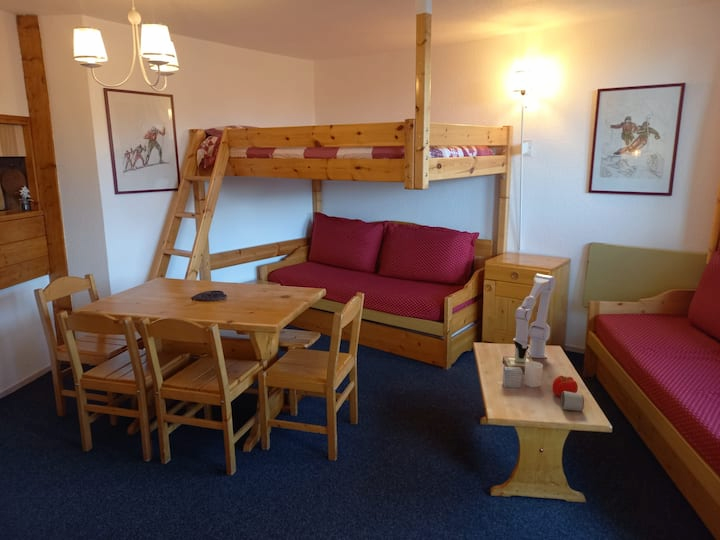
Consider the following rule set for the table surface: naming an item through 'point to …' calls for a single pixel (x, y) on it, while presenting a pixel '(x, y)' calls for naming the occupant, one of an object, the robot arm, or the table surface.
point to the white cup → (533, 373)
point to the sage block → (518, 356)
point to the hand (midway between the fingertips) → (520, 356)
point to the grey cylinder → (572, 401)
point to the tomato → (564, 385)
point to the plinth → (512, 362)
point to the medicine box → (512, 377)
